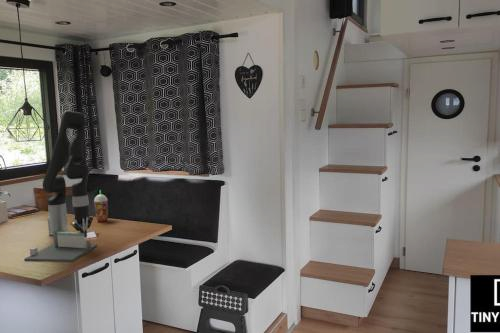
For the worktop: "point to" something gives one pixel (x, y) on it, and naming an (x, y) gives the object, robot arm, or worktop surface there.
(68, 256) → the gate frame
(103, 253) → the worktop surface
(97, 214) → the smoothie
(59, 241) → the gate
